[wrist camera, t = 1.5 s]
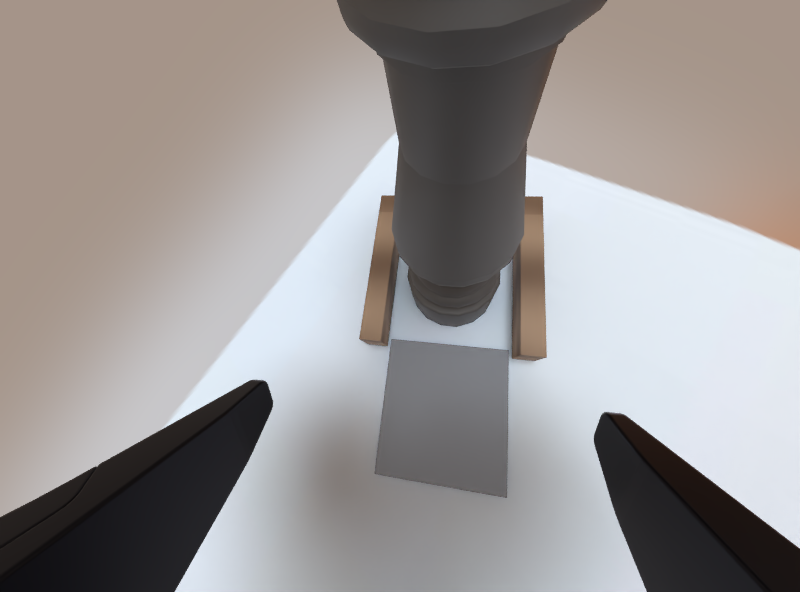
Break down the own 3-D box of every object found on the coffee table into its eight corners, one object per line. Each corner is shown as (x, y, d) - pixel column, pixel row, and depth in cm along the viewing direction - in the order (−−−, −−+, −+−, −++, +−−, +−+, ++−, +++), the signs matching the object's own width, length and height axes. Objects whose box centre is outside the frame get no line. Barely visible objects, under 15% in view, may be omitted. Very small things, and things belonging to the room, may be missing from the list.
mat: (505, 496, 18) (506, 497, 18) (375, 472, 20) (374, 473, 19) (507, 350, 21) (508, 350, 20) (392, 339, 22) (391, 339, 22)
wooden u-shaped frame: (534, 360, 20) (546, 357, 18) (368, 344, 22) (359, 339, 20) (532, 215, 23) (542, 196, 21) (387, 213, 26) (381, 195, 23)
